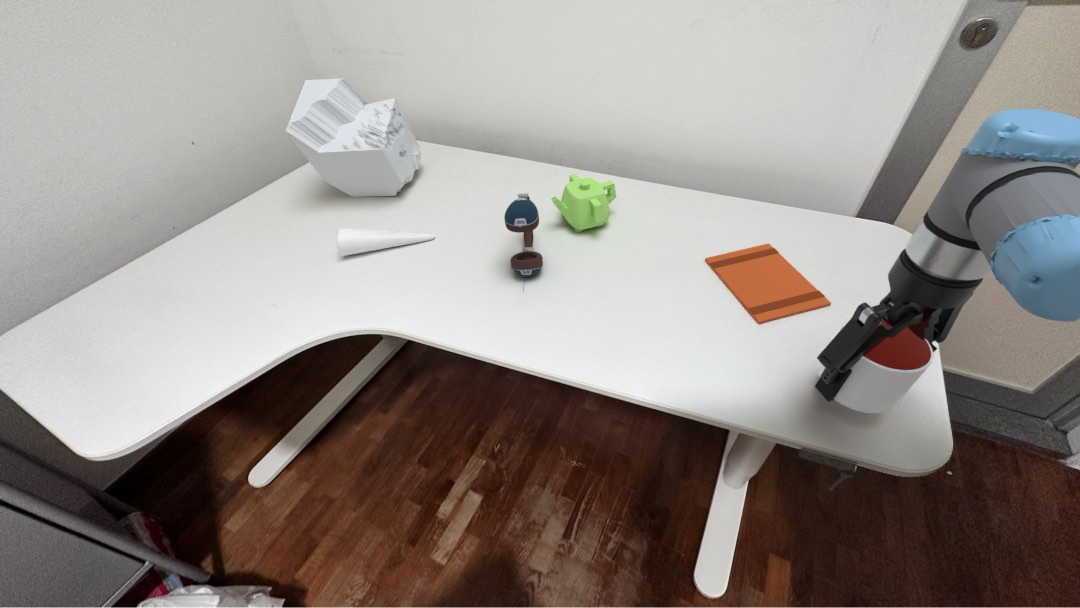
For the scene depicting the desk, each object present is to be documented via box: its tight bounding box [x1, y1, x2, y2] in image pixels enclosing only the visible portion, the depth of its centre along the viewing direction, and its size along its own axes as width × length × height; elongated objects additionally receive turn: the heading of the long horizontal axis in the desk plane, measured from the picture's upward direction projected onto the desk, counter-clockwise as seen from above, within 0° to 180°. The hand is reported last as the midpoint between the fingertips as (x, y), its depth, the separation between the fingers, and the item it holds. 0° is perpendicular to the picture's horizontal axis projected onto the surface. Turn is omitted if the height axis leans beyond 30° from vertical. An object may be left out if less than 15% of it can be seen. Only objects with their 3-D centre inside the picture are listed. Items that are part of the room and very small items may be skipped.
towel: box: [704, 242, 832, 325], centre depth 85 cm, size 18×14×1 cm
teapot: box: [550, 173, 617, 233], centre depth 99 cm, size 12×12×10 cm
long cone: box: [336, 227, 436, 257], centre depth 98 cm, size 6×6×19 cm
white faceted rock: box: [285, 77, 422, 198], centre depth 110 cm, size 20×16×25 cm
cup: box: [818, 316, 934, 414], centre depth 62 cm, size 10×10×10 cm
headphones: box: [503, 192, 544, 294], centre depth 87 cm, size 6×15×22 cm
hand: (856, 383), depth 65 cm, fingers closed on cup, 10 cm apart
